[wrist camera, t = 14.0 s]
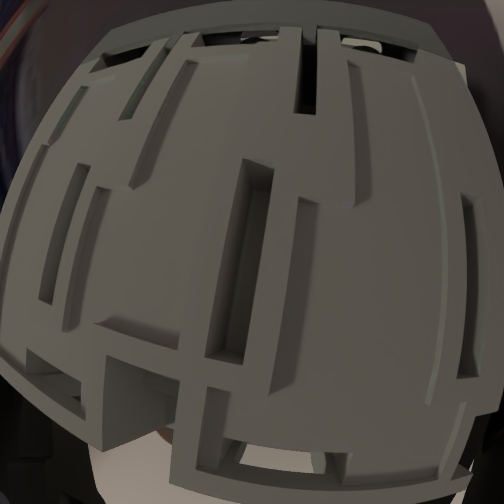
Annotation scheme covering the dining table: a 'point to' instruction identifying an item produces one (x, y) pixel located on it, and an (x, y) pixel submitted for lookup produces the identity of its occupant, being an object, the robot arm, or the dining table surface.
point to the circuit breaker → (263, 253)
